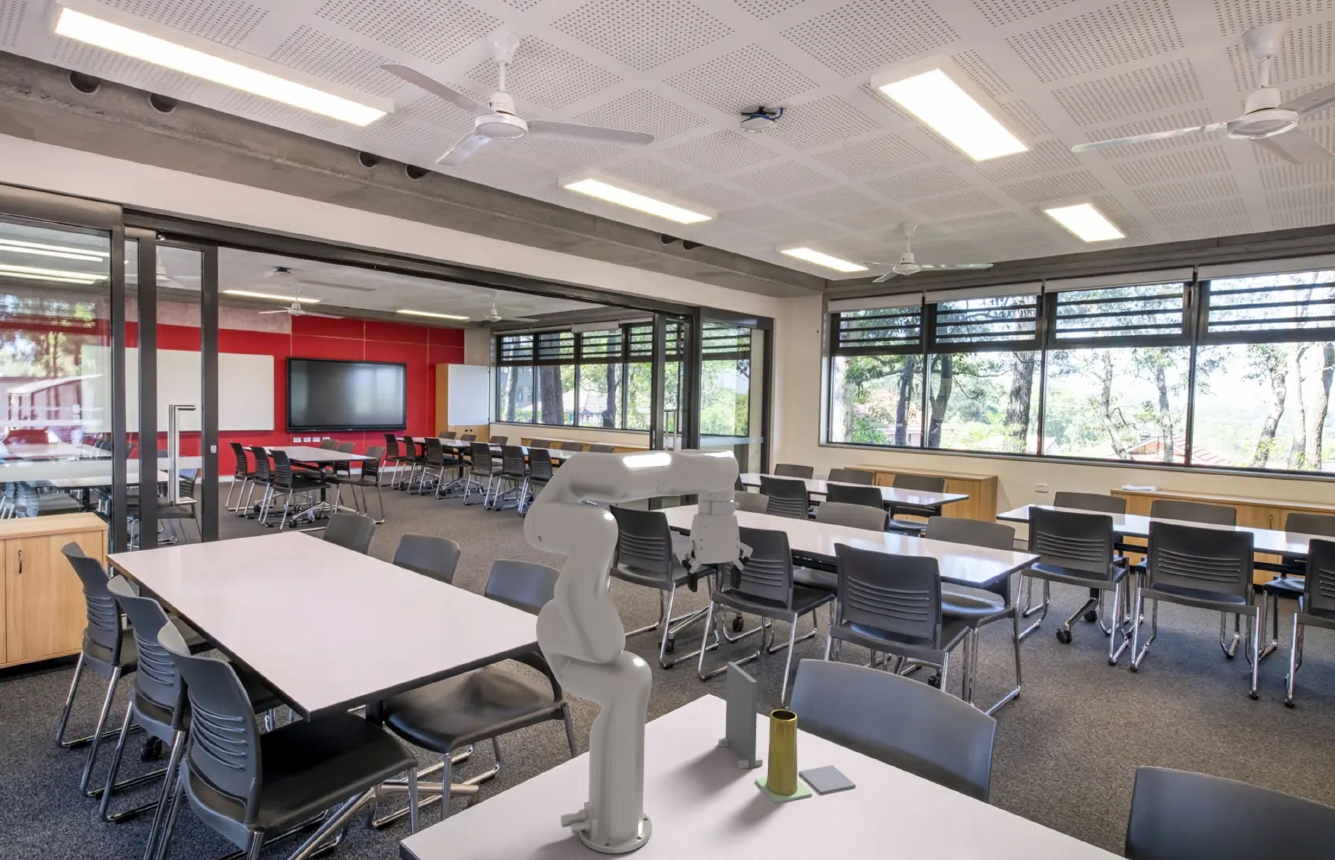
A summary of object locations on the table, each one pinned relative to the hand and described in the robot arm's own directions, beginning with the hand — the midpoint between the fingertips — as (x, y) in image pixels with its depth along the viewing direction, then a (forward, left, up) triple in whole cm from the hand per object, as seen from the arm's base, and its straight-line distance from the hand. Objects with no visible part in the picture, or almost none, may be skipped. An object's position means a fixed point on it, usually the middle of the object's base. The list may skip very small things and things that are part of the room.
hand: (714, 589), depth 145 cm
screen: (+7, 0, -36) cm, 37 cm away
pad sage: (+9, -15, -36) cm, 40 cm away
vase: (+9, -15, -36) cm, 40 cm away
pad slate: (+19, -15, -36) cm, 44 cm away
